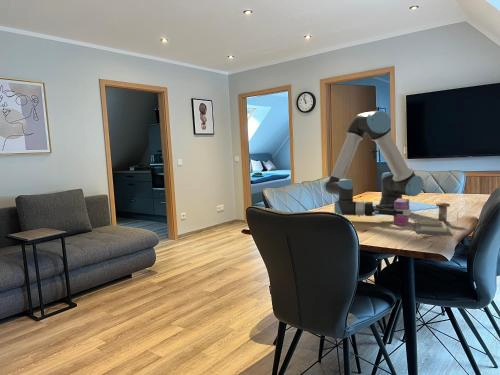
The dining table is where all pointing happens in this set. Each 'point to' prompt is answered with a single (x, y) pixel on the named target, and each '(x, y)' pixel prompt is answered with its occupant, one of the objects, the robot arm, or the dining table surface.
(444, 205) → the bobbin
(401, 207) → the box
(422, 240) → the dining table surface
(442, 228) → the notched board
